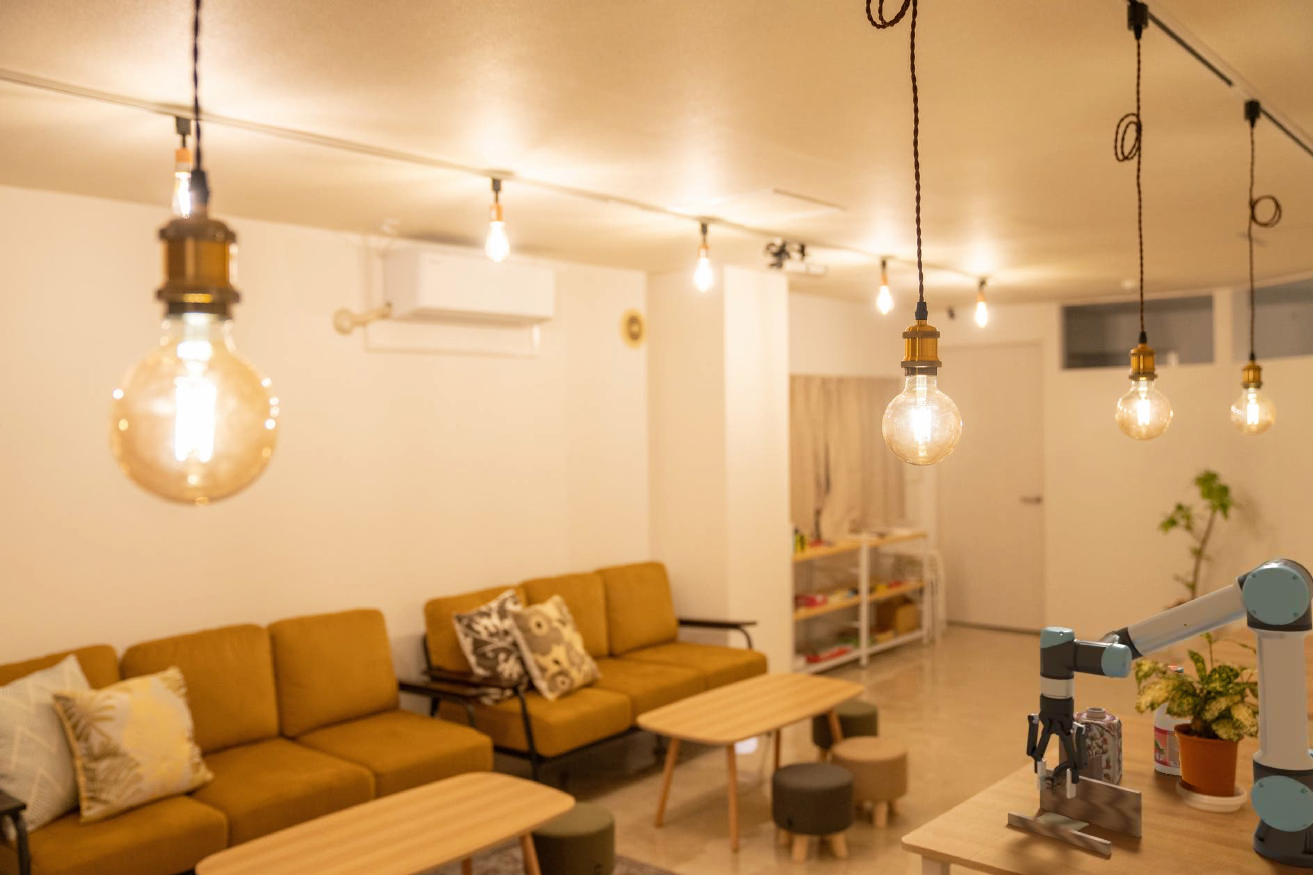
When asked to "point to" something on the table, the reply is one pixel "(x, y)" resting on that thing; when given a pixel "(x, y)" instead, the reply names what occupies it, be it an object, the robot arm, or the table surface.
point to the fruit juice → (1166, 739)
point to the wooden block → (1093, 764)
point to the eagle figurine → (1057, 777)
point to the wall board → (1085, 813)
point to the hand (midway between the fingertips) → (1056, 792)
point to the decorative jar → (1103, 740)
